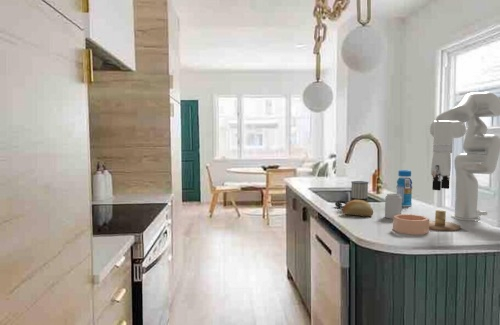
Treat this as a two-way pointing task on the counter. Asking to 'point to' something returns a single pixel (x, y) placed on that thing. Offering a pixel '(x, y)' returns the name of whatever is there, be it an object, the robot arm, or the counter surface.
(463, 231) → the mat
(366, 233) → the counter surface
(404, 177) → the beverage bottle
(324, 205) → the counter surface
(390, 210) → the can
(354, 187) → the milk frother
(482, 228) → the counter surface
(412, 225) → the bowl
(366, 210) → the bread roll
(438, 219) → the lid
